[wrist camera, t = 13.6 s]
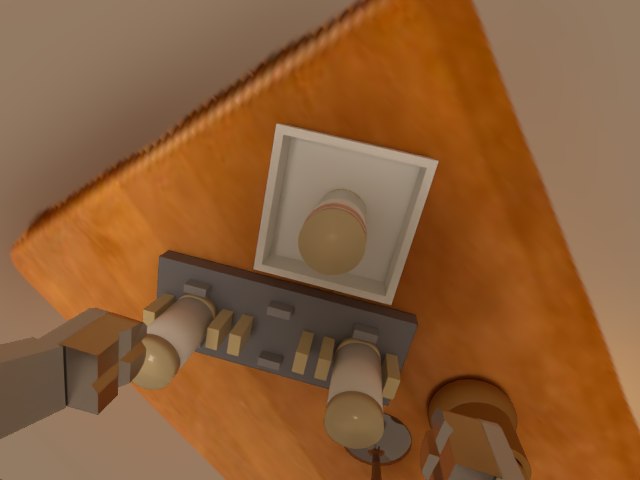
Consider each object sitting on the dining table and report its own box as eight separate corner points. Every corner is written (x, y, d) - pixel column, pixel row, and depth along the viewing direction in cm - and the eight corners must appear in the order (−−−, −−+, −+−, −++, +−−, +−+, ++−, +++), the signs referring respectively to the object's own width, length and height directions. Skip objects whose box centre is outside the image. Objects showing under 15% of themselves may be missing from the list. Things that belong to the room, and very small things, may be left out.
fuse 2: (373, 379, 30) (374, 455, 23) (330, 366, 30) (318, 438, 23) (386, 343, 29) (391, 412, 22) (341, 330, 29) (331, 395, 22)
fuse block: (387, 393, 32) (389, 433, 28) (163, 331, 34) (134, 360, 29) (415, 315, 29) (423, 346, 25) (168, 250, 31) (136, 269, 26)
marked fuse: (372, 195, 26) (374, 219, 19) (359, 243, 27) (356, 283, 20) (321, 182, 26) (304, 202, 19) (311, 231, 27) (291, 266, 20)
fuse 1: (216, 335, 31) (170, 395, 24) (175, 324, 31) (119, 380, 24) (220, 298, 30) (174, 351, 23) (178, 286, 30) (119, 335, 23)
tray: (389, 287, 29) (391, 305, 26) (264, 255, 29) (253, 269, 26) (431, 157, 25) (438, 160, 22) (286, 124, 26) (276, 123, 23)
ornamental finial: (498, 443, 32) (419, 429, 33) (520, 381, 30) (434, 367, 30) (537, 539, 25) (434, 517, 25) (570, 467, 22) (455, 445, 23)
